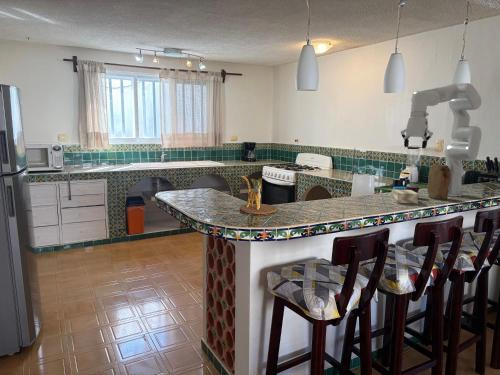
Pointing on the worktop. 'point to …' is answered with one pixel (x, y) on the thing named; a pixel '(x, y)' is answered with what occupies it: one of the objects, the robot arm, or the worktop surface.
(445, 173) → the block
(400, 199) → the maple block
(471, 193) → the worktop surface
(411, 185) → the mate gourd
